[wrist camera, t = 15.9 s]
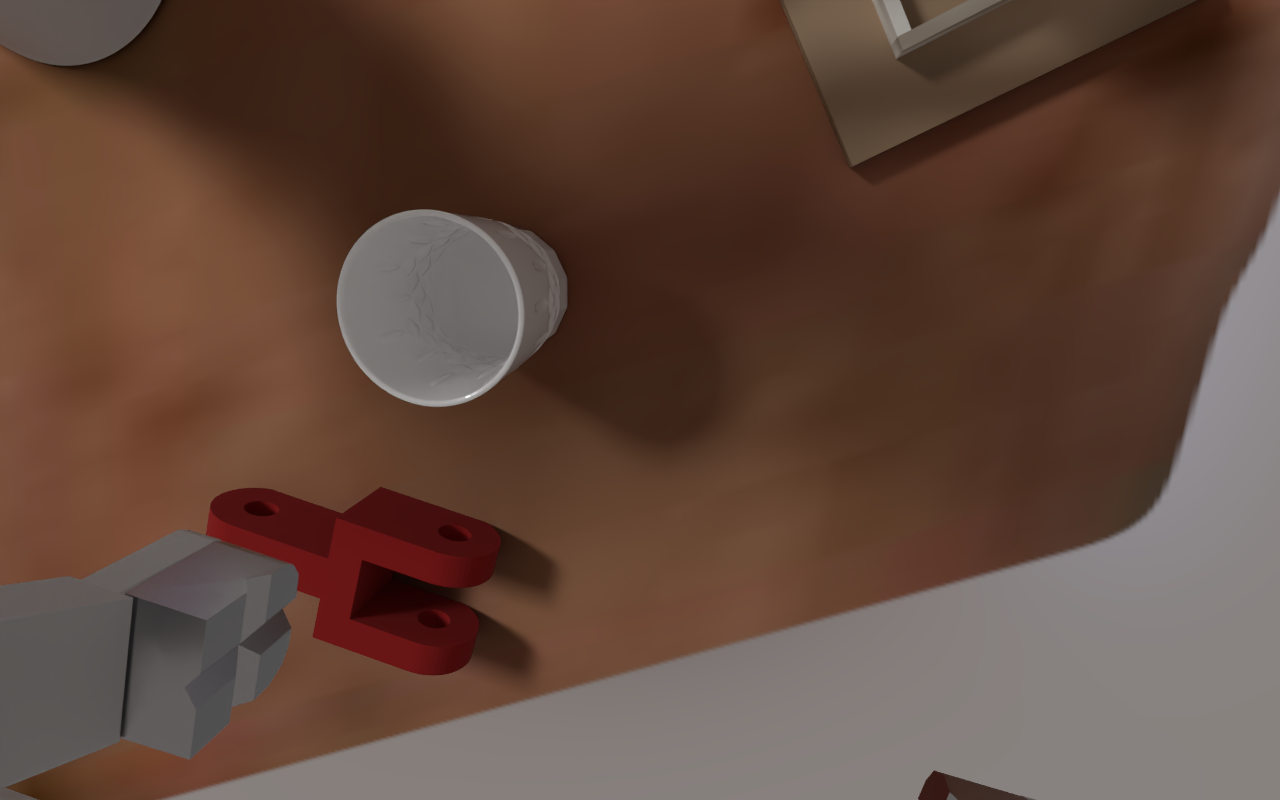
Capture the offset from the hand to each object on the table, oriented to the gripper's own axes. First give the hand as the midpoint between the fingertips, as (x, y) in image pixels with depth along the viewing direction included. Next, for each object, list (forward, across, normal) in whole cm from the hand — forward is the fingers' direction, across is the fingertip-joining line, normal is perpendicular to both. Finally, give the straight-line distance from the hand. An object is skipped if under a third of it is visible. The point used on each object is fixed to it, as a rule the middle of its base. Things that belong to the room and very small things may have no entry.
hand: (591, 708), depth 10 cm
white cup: (+31, +12, 0) cm, 33 cm away
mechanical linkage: (+32, +16, +17) cm, 39 cm away
